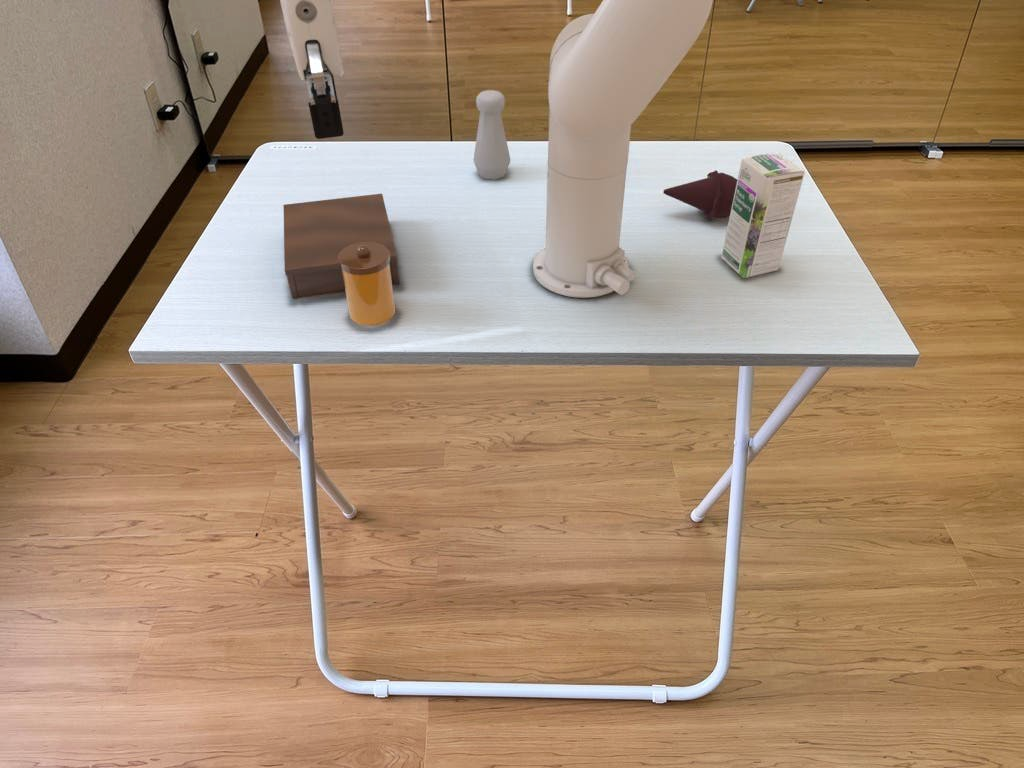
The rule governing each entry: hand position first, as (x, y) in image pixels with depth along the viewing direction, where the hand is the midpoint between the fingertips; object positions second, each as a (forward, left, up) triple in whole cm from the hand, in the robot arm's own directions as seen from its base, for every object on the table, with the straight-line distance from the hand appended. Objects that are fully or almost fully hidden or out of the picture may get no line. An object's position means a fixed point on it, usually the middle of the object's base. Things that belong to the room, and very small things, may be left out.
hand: (327, 119), depth 91 cm
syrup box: (-33, -42, -20) cm, 57 cm away
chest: (+1, +1, -20) cm, 20 cm away
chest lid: (+1, +1, -16) cm, 16 cm away
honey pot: (-12, +4, -20) cm, 24 cm away
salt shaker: (+9, -31, -20) cm, 38 cm away
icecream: (-22, -48, -20) cm, 56 cm away
